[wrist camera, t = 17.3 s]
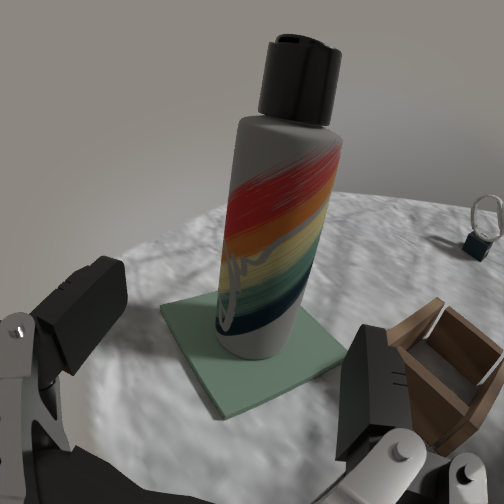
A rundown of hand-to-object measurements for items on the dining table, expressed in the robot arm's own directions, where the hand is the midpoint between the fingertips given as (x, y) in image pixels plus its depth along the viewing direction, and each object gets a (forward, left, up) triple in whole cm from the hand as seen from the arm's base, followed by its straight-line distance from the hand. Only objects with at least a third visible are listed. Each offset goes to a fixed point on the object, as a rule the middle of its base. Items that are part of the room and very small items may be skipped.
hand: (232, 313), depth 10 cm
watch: (-53, -4, -11) cm, 54 cm away
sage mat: (-7, -7, -11) cm, 15 cm away
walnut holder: (-17, +5, -11) cm, 21 cm away
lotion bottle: (-7, -7, -11) cm, 14 cm away
